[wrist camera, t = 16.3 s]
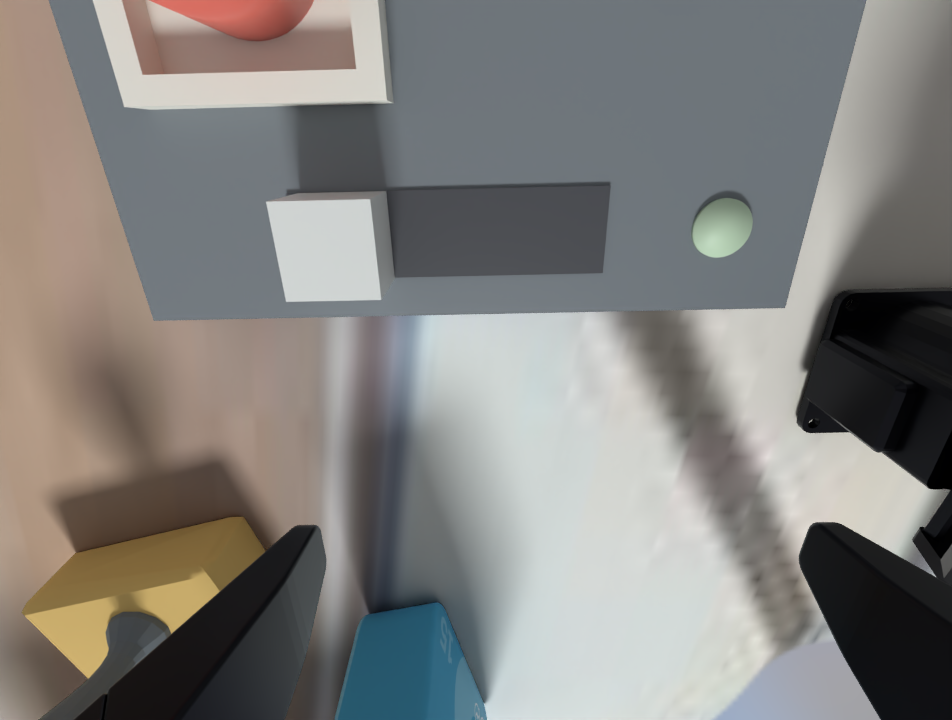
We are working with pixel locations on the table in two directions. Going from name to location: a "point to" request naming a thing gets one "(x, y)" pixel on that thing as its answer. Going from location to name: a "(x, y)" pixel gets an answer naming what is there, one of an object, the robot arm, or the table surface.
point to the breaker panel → (472, 147)
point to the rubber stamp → (134, 599)
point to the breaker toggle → (333, 245)
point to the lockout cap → (244, 15)
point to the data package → (408, 669)
